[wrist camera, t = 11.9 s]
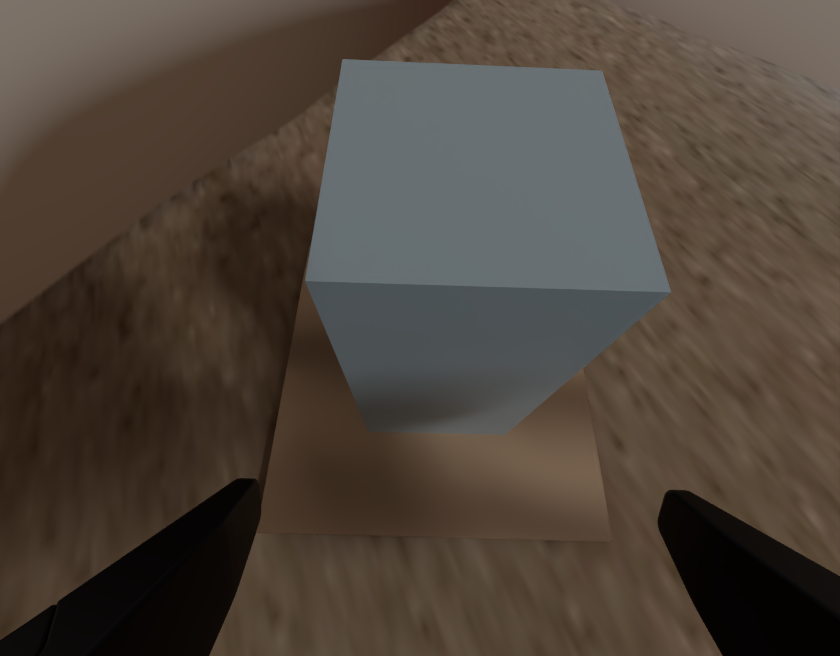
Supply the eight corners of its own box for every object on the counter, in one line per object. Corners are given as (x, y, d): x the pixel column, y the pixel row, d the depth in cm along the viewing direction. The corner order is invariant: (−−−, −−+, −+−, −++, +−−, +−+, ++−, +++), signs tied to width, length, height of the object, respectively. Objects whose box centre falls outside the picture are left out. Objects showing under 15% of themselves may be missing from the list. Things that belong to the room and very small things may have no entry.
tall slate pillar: (505, 434, 17) (671, 292, 6) (368, 431, 17) (304, 281, 6) (495, 314, 20) (602, 70, 9) (377, 310, 20) (342, 59, 9)
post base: (605, 540, 16) (685, 549, 12) (261, 532, 16) (202, 537, 11) (559, 260, 22) (599, 192, 18) (311, 250, 22) (287, 179, 17)
